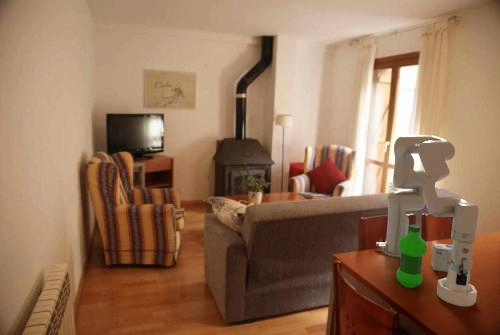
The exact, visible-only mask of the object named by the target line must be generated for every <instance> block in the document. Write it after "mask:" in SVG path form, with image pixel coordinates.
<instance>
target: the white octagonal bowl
mask: <svg viewBox="0 0 500 335" xmlns="http://www.w3.org/2000/svg"><path fill="white" fill-rule="evenodd" d="M446 282H447V277H444V278H441V279H439V278H438V280H437V284H436V286H437V287H436V295H437V297H438V298H440V299H441V300H442V301H444V302H446V303H448V304H451V305H454V306H458V307H464V308H465V307H473V306H474V305H475V304H476V301H477V297H478V291H477V289H476V288H475V286H474V285H473V284H471V283H469V285H468V291H467V293H462V292H456V291H452V290H450V289H448V288H446Z"/></svg>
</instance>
